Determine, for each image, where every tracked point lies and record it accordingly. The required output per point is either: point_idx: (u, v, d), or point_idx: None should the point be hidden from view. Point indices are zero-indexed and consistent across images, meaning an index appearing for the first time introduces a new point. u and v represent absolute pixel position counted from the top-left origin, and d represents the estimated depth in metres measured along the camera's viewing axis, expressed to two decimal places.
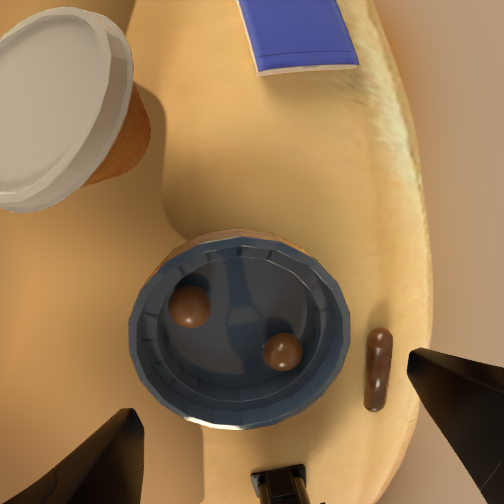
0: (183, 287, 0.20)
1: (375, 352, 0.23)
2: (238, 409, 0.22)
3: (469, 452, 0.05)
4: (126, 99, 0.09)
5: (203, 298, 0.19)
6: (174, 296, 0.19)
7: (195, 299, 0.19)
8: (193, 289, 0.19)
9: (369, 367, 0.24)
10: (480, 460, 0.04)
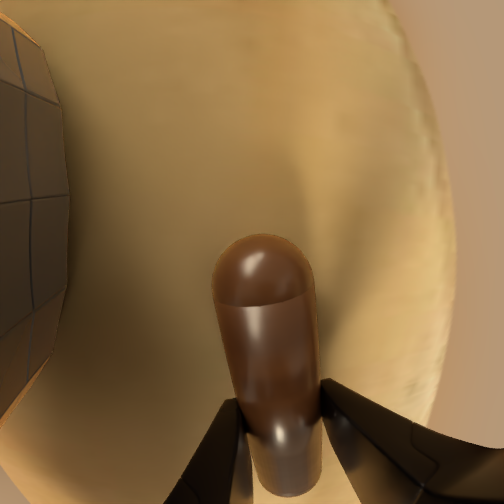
0: None
1: (231, 326, 0.06)
2: None
3: None
4: None
5: None
6: None
7: None
8: None
9: (233, 382, 0.07)
10: None
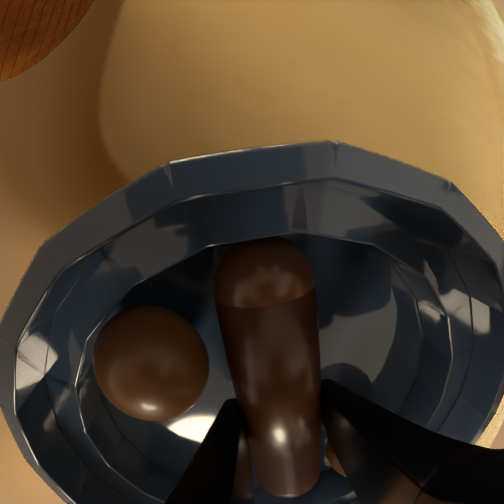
0: (113, 319, 0.06)
1: (233, 327, 0.06)
2: None
3: None
4: None
5: (166, 346, 0.06)
6: (94, 349, 0.06)
7: (137, 358, 0.05)
8: (133, 324, 0.06)
9: (234, 384, 0.07)
10: None
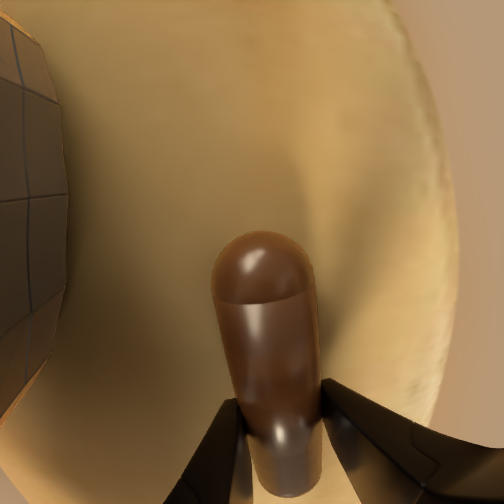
0: None
1: (232, 325, 0.06)
2: None
3: None
4: None
5: None
6: None
7: None
8: None
9: (234, 383, 0.07)
10: None
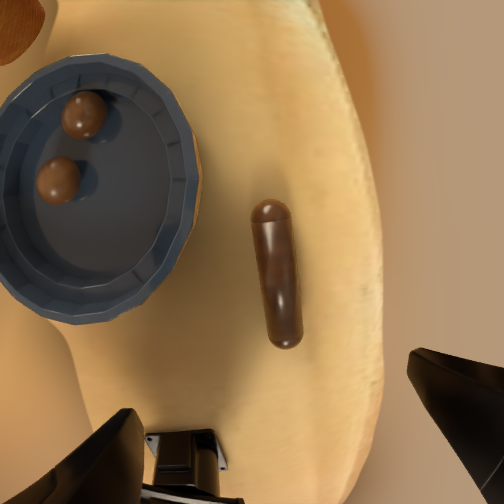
0: (60, 184, 0.14)
1: (253, 231, 0.18)
2: (80, 301, 0.16)
3: (469, 452, 0.05)
4: None
5: (79, 174, 0.15)
6: (58, 198, 0.14)
7: (78, 185, 0.15)
8: (71, 179, 0.14)
9: None
10: (480, 460, 0.04)
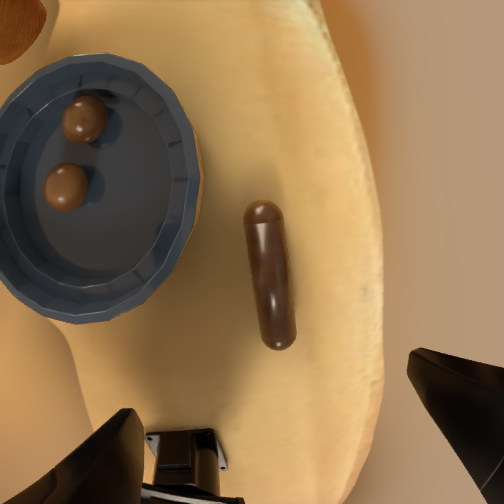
0: (76, 195, 0.14)
1: None
2: (81, 300, 0.16)
3: (469, 452, 0.05)
4: None
5: (87, 179, 0.15)
6: (73, 207, 0.15)
7: None
8: (85, 187, 0.15)
9: None
10: (480, 460, 0.04)
